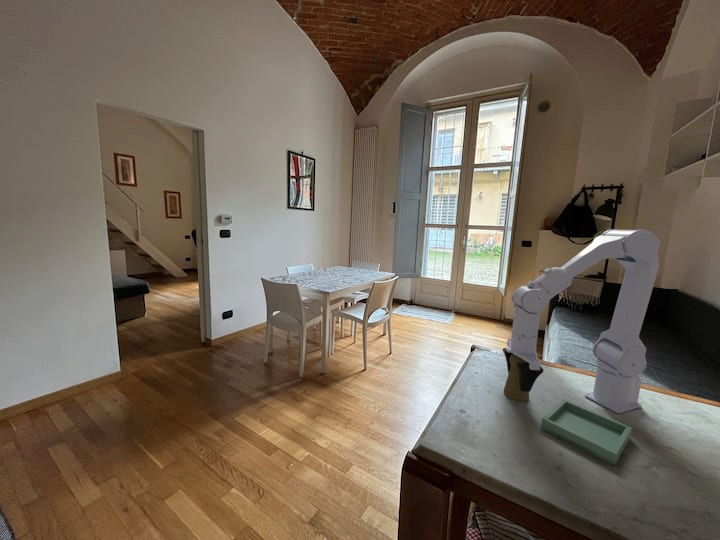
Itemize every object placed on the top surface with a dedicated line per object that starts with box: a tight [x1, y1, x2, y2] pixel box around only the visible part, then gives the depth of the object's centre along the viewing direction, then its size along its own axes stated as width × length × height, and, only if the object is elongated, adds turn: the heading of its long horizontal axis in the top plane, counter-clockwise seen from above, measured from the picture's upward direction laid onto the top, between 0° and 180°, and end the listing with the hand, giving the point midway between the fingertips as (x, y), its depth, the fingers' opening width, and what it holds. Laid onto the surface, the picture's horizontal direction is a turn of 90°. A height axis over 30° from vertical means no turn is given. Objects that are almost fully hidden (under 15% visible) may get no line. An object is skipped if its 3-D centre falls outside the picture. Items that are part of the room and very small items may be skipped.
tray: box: [540, 398, 633, 467], centre depth 63 cm, size 13×13×2 cm
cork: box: [503, 354, 530, 402], centre depth 77 cm, size 6×6×11 cm
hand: (518, 382), depth 77 cm, fingers open, 7 cm apart
